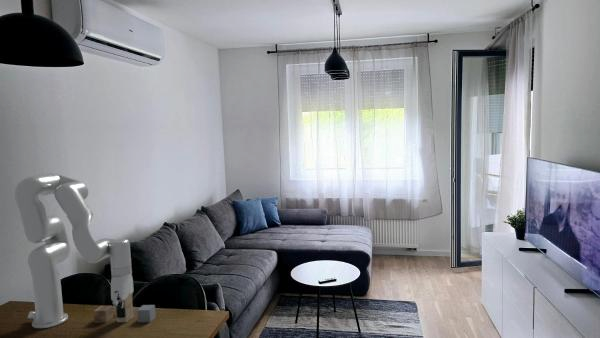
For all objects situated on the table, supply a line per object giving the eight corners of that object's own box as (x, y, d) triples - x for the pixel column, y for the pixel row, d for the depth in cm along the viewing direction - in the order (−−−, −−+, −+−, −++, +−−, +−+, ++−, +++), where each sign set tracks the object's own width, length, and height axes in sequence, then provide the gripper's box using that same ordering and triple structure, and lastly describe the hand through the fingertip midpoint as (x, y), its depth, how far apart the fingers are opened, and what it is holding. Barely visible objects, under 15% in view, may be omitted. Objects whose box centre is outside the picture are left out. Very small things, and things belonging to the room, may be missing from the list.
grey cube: (138, 322, 165) (137, 310, 164) (143, 316, 170) (142, 305, 169) (150, 322, 164) (149, 310, 164) (155, 316, 169) (154, 304, 169)
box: (126, 322, 165) (124, 295, 164) (116, 322, 166) (114, 295, 165) (134, 317, 170) (132, 290, 169) (124, 316, 171) (122, 290, 170)
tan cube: (94, 323, 166) (93, 310, 166) (101, 317, 171) (100, 305, 171) (106, 322, 166) (105, 310, 165) (113, 317, 171) (112, 305, 170)
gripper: (123, 264, 175) (126, 305, 176) (101, 277, 158) (104, 323, 159) (140, 263, 174) (143, 305, 176) (120, 277, 157) (123, 323, 159)
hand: (124, 313), depth 168 cm, fingers closed on box, 5 cm apart
